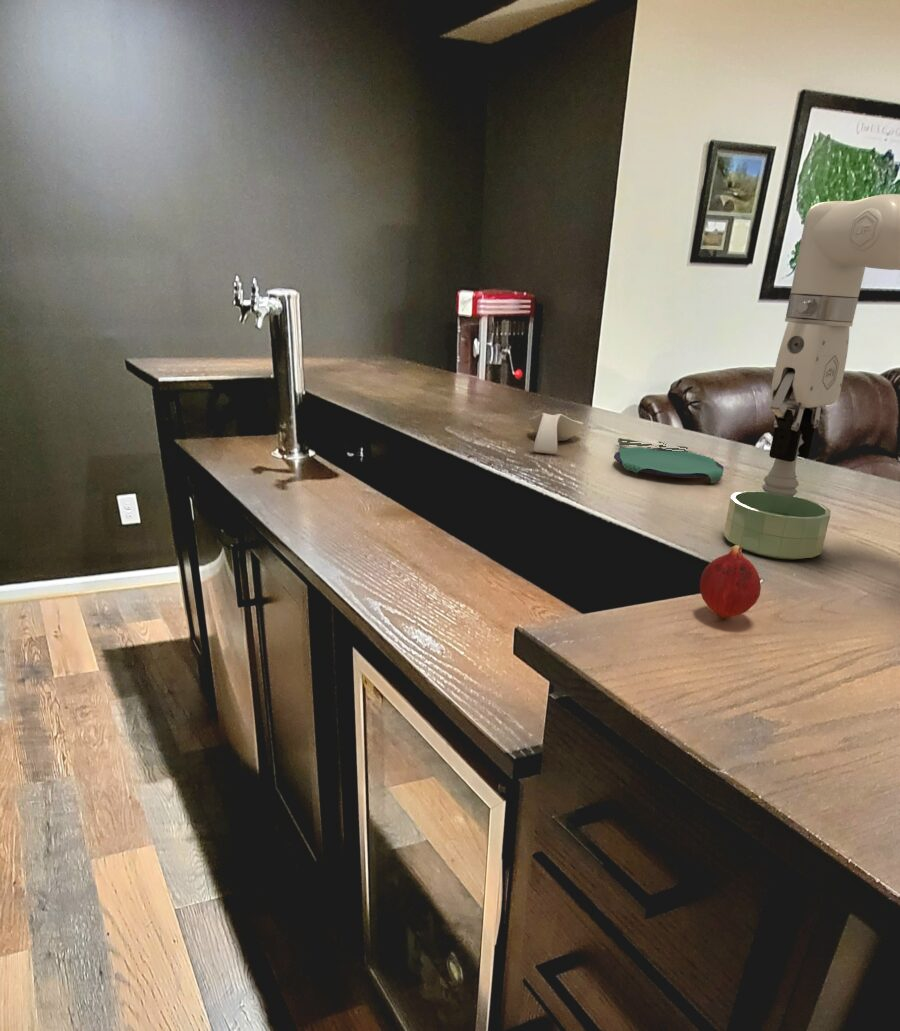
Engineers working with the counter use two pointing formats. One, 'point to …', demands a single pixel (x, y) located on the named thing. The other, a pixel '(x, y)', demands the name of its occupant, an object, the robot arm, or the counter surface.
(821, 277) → the robot arm
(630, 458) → the cutlery set
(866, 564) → the counter surface
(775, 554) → the green round tub
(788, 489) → the rook chess piece
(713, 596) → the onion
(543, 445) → the spoon rest
